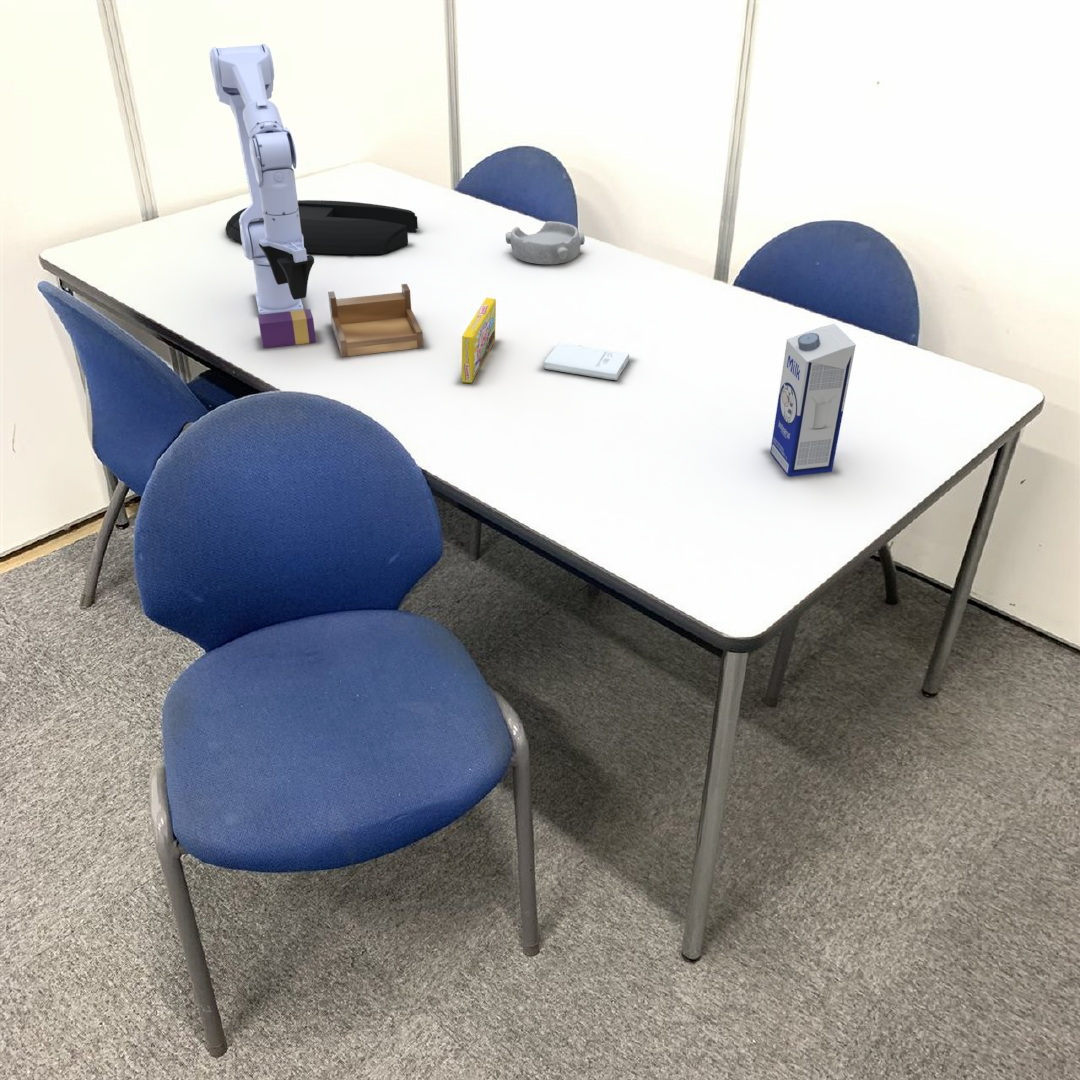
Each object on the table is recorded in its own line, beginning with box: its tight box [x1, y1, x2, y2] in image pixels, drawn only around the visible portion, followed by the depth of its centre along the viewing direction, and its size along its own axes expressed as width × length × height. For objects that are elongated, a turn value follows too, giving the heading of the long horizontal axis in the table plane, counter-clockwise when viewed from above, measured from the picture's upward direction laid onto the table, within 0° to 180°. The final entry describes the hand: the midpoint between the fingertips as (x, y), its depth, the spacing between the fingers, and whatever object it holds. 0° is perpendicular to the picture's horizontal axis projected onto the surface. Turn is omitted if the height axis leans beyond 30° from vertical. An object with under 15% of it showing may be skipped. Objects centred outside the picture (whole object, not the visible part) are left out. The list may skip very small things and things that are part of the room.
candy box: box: [461, 297, 497, 384], centre depth 183 cm, size 16×2×8 cm, turn 168°
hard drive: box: [543, 342, 630, 381], centre depth 184 cm, size 2×8×12 cm
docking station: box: [224, 199, 419, 255], centre depth 233 cm, size 25×41×5 cm, turn 82°
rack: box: [327, 283, 424, 358], centre depth 191 cm, size 13×14×6 cm
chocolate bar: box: [257, 308, 317, 349], centre depth 190 cm, size 4×9×4 cm, turn 106°
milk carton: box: [770, 323, 857, 477], centre depth 153 cm, size 7×7×20 cm
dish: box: [505, 220, 586, 265], centre depth 224 cm, size 14×14×5 cm
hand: (291, 290), depth 185 cm, fingers open, 7 cm apart
